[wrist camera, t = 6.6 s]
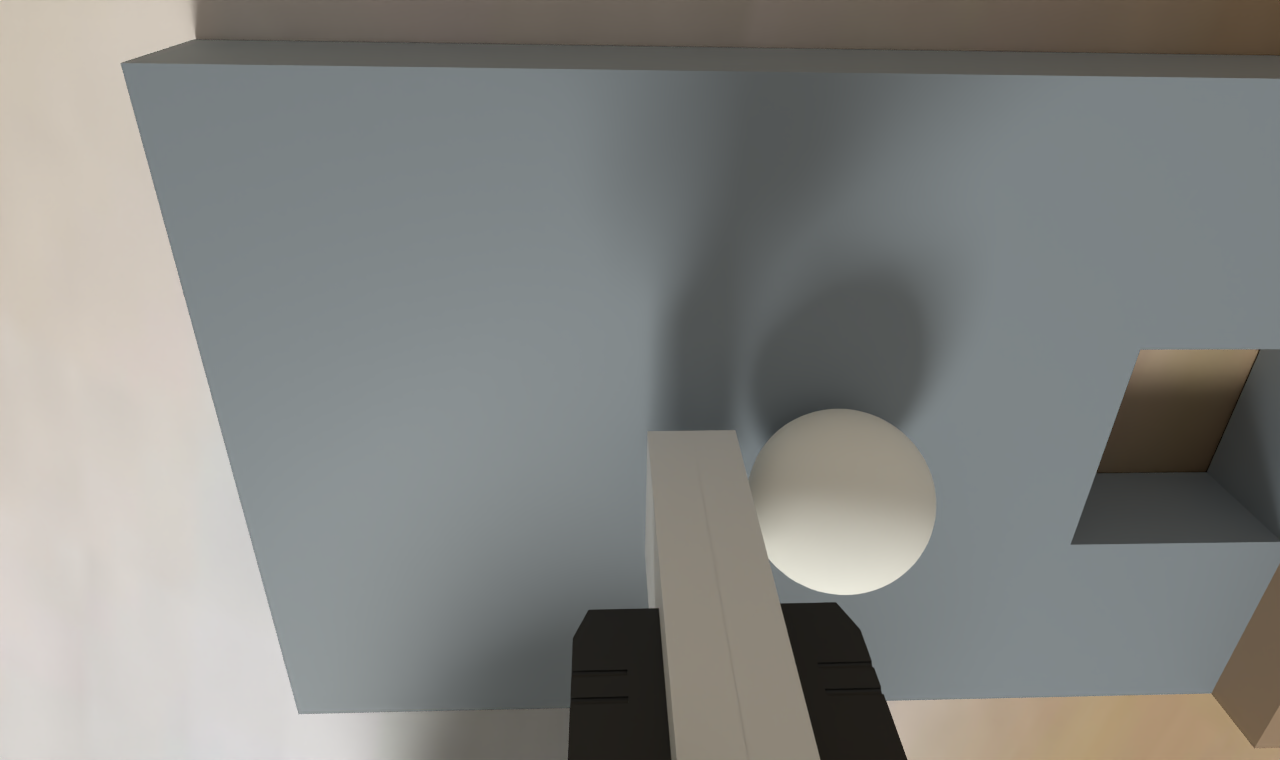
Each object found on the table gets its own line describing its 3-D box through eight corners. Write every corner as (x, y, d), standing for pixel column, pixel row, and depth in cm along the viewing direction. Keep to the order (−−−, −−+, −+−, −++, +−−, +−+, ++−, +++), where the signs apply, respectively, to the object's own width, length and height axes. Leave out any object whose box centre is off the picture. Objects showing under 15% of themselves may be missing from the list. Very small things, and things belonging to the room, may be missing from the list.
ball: (949, 632, 14) (897, 510, 17) (977, 476, 12) (914, 371, 15) (756, 640, 14) (736, 518, 17) (761, 486, 12) (737, 380, 15)
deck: (329, 630, 21) (276, 773, 18) (194, 39, 14) (62, 82, 11) (1313, 613, 22) (1446, 743, 19) (1631, 60, 15) (1932, 105, 12)
